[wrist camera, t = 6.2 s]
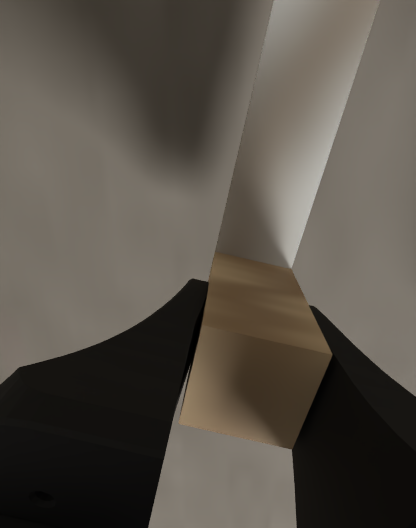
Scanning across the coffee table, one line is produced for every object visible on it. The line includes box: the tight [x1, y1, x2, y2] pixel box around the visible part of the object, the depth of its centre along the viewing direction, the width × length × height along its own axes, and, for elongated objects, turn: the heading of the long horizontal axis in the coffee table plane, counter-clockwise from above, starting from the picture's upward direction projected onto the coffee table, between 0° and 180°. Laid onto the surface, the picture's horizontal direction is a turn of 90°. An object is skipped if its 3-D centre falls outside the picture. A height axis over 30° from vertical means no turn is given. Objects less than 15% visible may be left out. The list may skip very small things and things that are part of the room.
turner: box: [179, 0, 380, 449], centre depth 9 cm, size 3×13×6 cm, turn 168°
